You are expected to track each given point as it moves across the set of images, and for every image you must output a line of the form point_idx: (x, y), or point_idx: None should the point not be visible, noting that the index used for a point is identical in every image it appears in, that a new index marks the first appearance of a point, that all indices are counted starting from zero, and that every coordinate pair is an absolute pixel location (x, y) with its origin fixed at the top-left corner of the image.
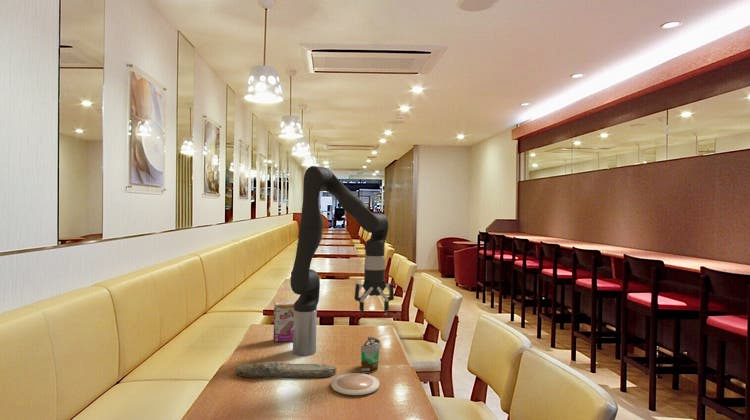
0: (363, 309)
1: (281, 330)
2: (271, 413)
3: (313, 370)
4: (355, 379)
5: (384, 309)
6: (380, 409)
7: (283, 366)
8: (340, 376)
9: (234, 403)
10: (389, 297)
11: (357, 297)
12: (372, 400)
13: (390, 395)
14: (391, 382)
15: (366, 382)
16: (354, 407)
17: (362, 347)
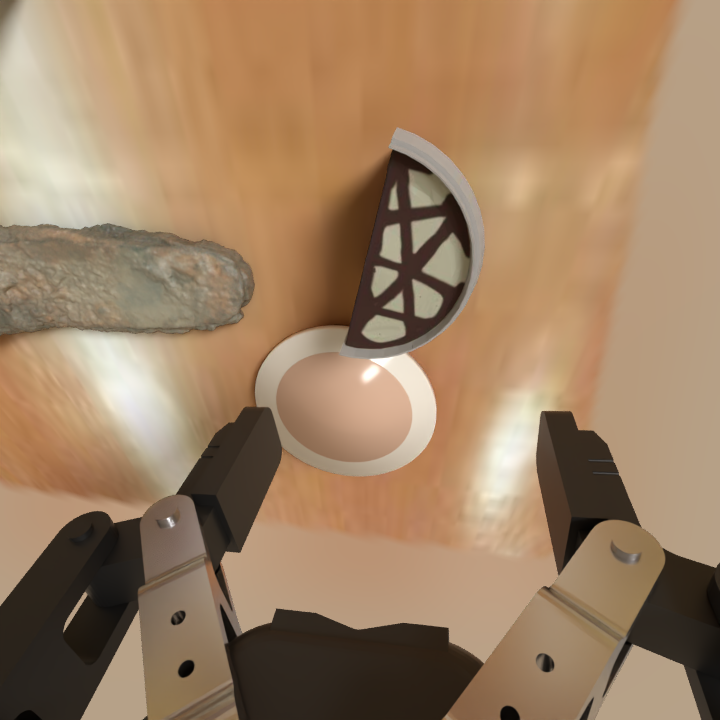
0: (269, 482)
1: None
2: None
3: (161, 327)
4: (342, 393)
5: (542, 454)
6: (420, 528)
7: (29, 297)
8: (280, 359)
9: (47, 458)
10: (676, 661)
11: (118, 618)
12: (402, 487)
13: (465, 468)
14: (493, 379)
15: (385, 420)
16: (349, 511)
17: (347, 352)
